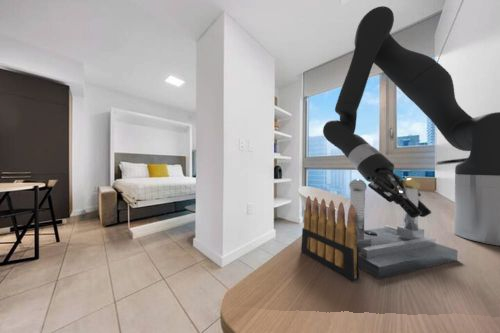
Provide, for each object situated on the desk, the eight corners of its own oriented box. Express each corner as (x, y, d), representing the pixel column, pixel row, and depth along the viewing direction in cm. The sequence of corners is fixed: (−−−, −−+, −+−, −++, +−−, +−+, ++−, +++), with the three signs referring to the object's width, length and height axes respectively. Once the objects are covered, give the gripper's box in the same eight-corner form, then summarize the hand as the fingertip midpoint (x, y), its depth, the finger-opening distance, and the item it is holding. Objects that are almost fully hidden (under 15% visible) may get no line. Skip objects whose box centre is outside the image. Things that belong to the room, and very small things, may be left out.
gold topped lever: (390, 227, 45) (391, 176, 45) (424, 238, 38) (424, 178, 38) (379, 228, 43) (380, 176, 43) (412, 240, 37) (413, 178, 37)
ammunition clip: (300, 251, 35) (302, 195, 35) (306, 249, 36) (308, 194, 36) (353, 282, 26) (354, 206, 26) (359, 279, 27) (361, 205, 27)
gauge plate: (386, 234, 46) (387, 223, 46) (457, 260, 33) (457, 244, 33) (321, 243, 39) (321, 230, 39) (378, 279, 27) (379, 259, 27)
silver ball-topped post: (341, 234, 40) (343, 177, 40) (370, 248, 33) (372, 179, 33) (328, 236, 38) (329, 177, 38) (355, 251, 32) (357, 179, 32)
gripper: (360, 151, 44) (417, 208, 32) (395, 153, 48) (458, 205, 36) (342, 170, 49) (387, 226, 37) (376, 171, 53) (426, 221, 41)
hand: (422, 215), depth 37 cm, fingers closed on gold topped lever, 2 cm apart
